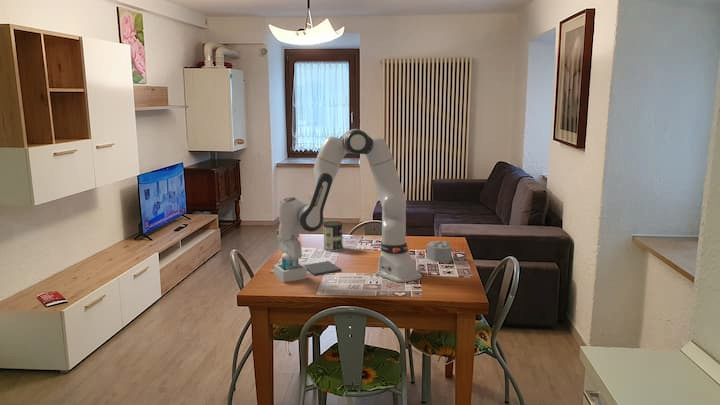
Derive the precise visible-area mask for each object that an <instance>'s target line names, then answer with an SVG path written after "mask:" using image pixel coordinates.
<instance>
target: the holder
mask: <svg viewBox="0 0 720 405" xmlns="http://www.w3.org/2000/svg"><path fill="white" fill-rule="evenodd" d="M303 265H304V264H302V263H300V262H299V261H298V268H297V269H291V270H286V271H284V270H283V269H282V263H277V264H274V265H273V267H274V268H273V270H274V271H273V272H274V273H273V275H274V277H276V278H277V279H278V280H280V281H281V282H282V283H289V282H293V281H294V282H295V281H299V280H305V279H308V271H307V268H306V267H305V266H303Z"/></svg>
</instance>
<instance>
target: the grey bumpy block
mask: <svg viewBox="0 0 720 405" xmlns="http://www.w3.org/2000/svg"><path fill="white" fill-rule="evenodd" d="M452 251H453V246H452V245H451V244H450V243H449V241H447V240H444V241H441V240H439V239H438V240H432V241H430V242H427V244H426V258H427V259H428V260H430V261H433V262H436V263H450V262H451V261H452Z"/></svg>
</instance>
